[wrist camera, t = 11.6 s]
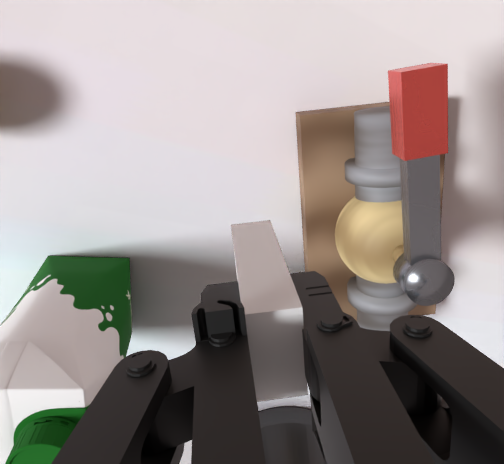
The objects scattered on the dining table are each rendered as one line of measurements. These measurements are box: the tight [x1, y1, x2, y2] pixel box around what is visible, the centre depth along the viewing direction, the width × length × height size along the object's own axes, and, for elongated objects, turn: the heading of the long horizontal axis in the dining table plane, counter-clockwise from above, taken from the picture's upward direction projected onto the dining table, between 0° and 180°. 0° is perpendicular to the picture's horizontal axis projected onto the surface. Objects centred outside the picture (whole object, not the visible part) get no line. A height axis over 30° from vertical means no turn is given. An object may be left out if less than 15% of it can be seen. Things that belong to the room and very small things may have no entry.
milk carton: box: [0, 256, 132, 464], centre depth 34 cm, size 9×9×20 cm
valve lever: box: [388, 63, 454, 306], centre depth 29 cm, size 15×3×2 cm, turn 9°
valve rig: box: [296, 102, 445, 331], centre depth 38 cm, size 20×12×10 cm, turn 5°
